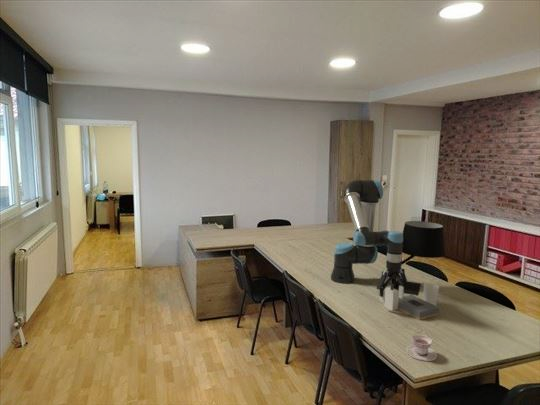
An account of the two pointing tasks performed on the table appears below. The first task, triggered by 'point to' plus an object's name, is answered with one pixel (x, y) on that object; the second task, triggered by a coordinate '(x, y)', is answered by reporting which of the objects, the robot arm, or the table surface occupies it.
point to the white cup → (430, 293)
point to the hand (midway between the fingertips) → (391, 300)
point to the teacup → (422, 348)
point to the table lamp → (421, 246)
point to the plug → (391, 298)
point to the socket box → (417, 307)
